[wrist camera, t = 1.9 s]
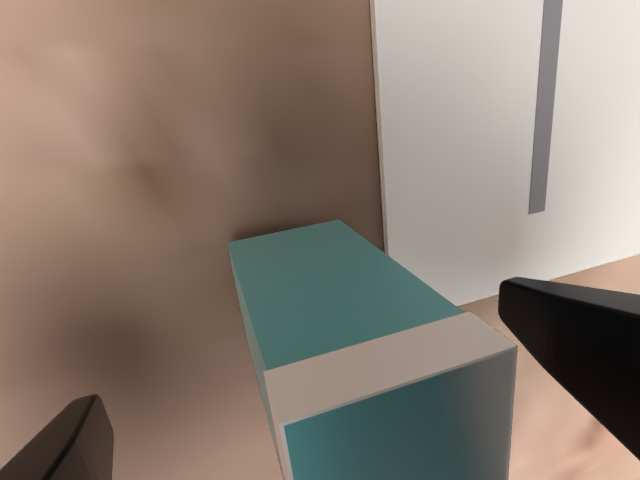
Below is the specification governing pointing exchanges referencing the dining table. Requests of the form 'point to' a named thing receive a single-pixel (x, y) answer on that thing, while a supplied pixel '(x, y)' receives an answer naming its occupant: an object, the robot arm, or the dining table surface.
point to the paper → (507, 138)
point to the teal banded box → (370, 363)
